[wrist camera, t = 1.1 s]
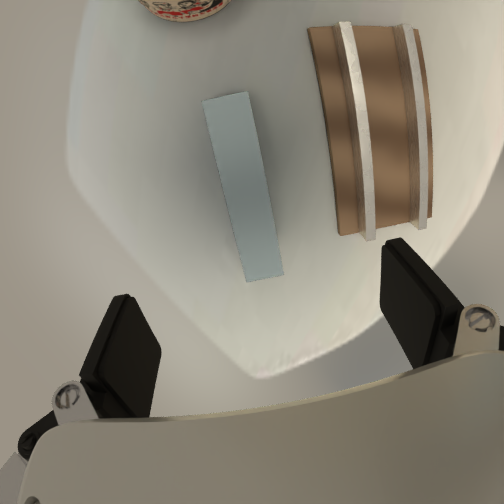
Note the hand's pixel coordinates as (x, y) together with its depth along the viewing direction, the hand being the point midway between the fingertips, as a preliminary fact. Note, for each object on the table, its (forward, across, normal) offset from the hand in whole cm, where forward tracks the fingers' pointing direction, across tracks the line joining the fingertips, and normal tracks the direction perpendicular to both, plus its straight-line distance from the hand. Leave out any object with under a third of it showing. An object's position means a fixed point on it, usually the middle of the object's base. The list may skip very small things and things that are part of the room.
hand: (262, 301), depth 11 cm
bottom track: (+18, -13, -2) cm, 23 cm away
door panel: (+18, 0, 0) cm, 19 cm away
